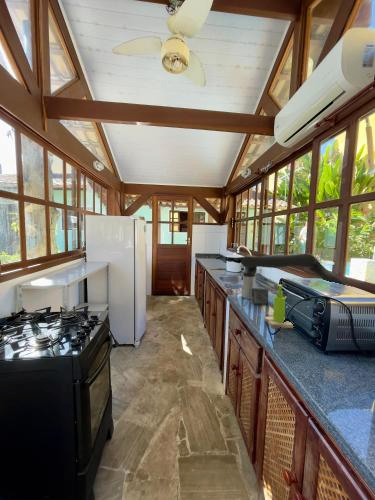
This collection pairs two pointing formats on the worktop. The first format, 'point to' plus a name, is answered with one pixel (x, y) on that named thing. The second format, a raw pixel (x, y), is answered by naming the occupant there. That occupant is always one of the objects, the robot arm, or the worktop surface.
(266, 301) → the small box
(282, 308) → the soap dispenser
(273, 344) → the worktop surface
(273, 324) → the birch board
